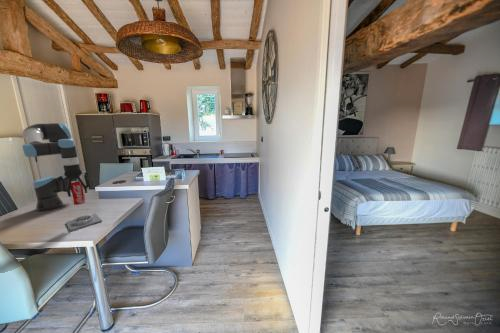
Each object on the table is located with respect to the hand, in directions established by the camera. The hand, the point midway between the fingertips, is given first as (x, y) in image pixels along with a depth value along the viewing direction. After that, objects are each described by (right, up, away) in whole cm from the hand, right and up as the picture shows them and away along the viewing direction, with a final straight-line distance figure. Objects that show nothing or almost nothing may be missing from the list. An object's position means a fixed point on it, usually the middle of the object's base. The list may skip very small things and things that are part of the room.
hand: (79, 199), depth 130 cm
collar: (0, -16, +4) cm, 16 cm away
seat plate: (0, -16, +4) cm, 16 cm away
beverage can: (0, -3, +1) cm, 3 cm away
